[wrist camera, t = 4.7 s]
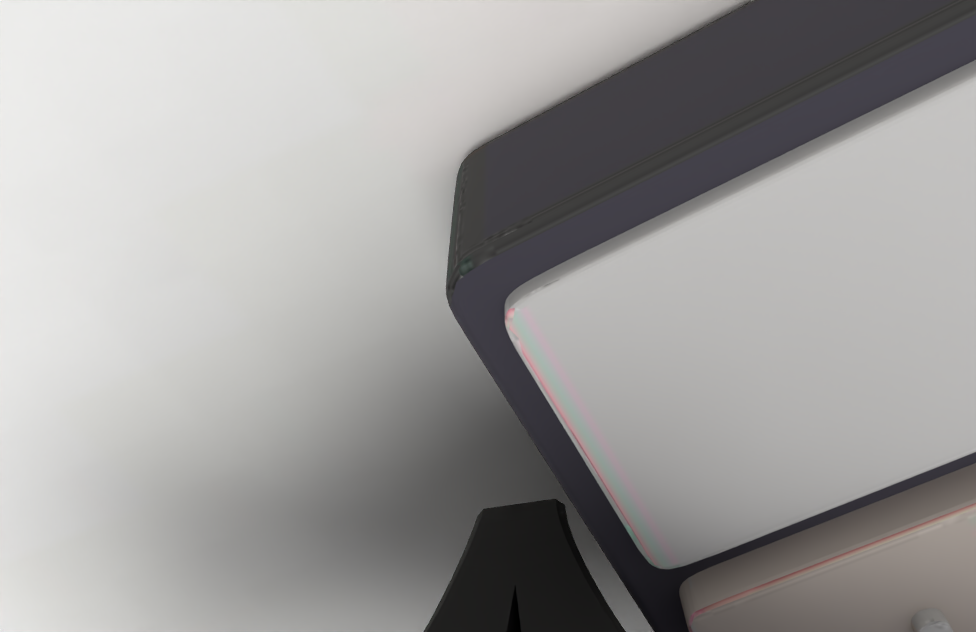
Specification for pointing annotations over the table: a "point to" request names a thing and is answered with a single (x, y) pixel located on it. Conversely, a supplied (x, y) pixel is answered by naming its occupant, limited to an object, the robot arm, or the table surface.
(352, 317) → the table surface
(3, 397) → the table surface
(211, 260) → the table surface
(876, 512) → the button box
